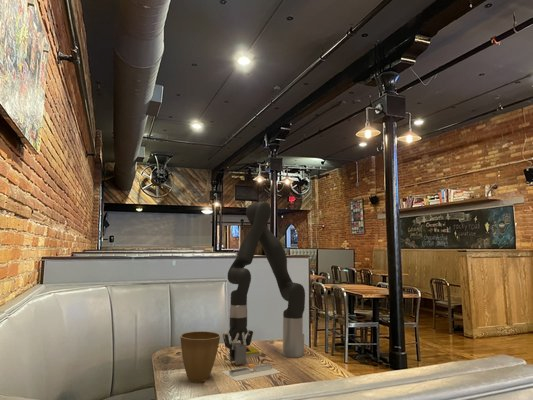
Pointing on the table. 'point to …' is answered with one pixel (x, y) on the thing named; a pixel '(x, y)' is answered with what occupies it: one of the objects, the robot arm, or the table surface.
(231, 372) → the rail
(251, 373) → the mounting plate
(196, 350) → the plant pot
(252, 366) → the block
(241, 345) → the block
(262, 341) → the table surface
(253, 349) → the emergency button
